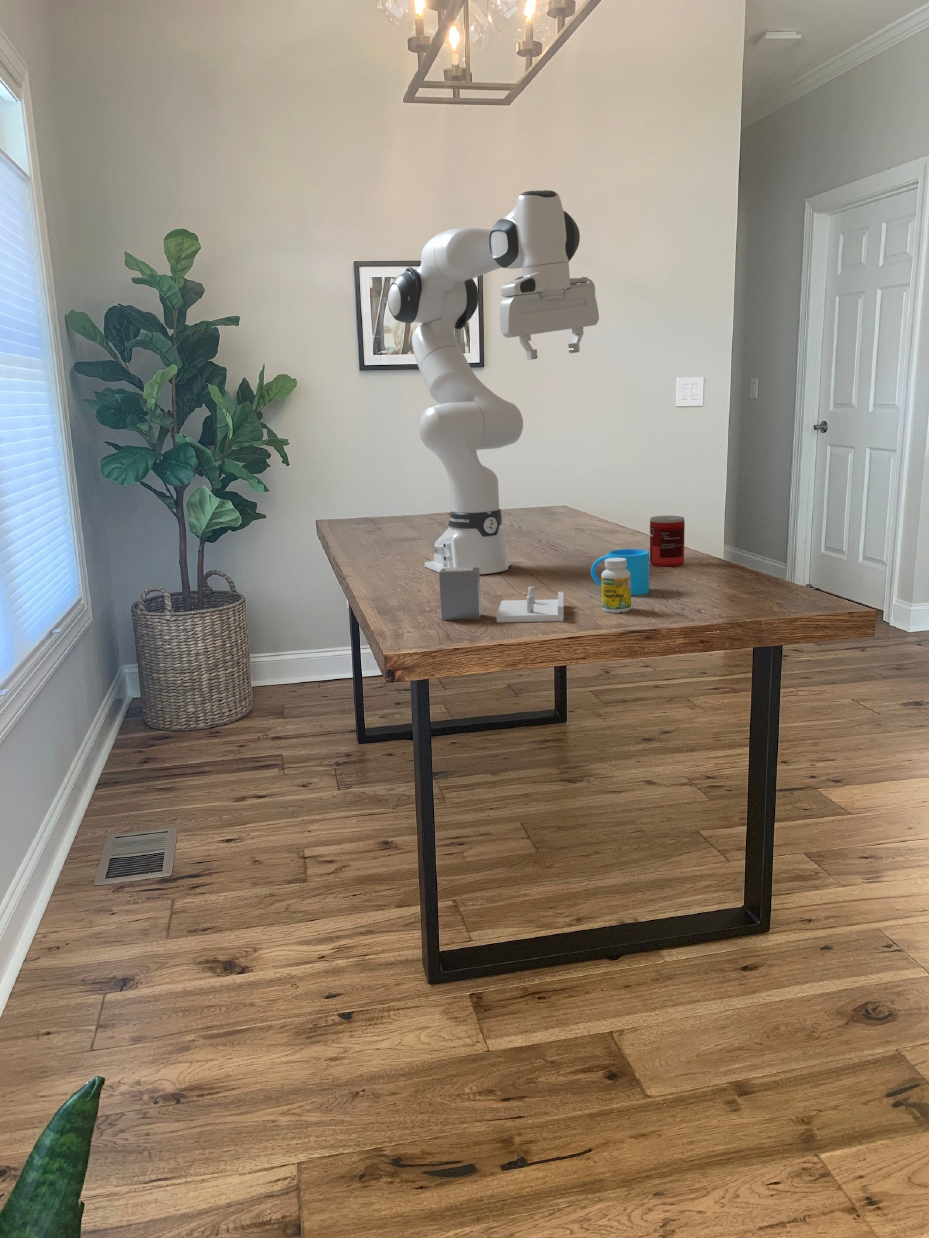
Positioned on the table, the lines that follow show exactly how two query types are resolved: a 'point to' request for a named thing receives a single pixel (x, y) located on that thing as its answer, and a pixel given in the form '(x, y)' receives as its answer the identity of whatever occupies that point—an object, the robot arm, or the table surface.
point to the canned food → (667, 541)
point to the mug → (630, 568)
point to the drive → (460, 593)
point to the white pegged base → (532, 609)
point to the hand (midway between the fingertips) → (553, 356)
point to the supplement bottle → (616, 586)
